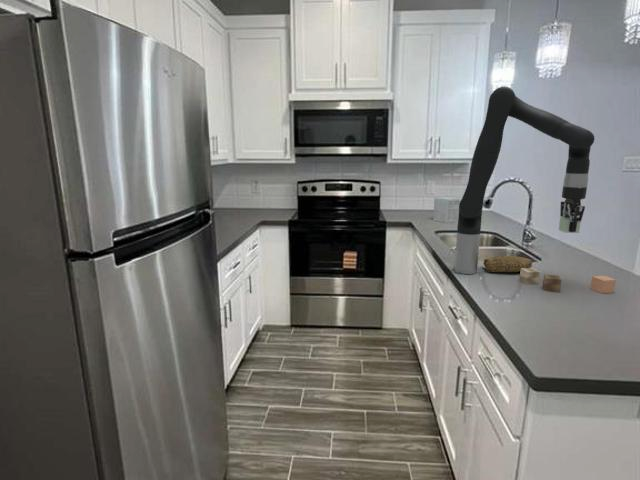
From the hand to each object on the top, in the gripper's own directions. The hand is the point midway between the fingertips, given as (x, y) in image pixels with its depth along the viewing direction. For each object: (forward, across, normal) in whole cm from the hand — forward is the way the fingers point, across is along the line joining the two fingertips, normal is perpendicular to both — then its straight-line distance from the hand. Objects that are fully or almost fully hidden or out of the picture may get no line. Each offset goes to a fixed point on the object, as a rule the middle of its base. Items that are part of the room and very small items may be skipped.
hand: (568, 230), depth 147 cm
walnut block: (+21, +8, -7) cm, 24 cm away
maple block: (+21, 0, -12) cm, 25 cm away
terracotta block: (+21, +7, +11) cm, 25 cm away
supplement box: (+22, -138, -22) cm, 141 cm away
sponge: (+22, -14, -15) cm, 30 cm away
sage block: (0, 0, 0) cm, 0 cm away
